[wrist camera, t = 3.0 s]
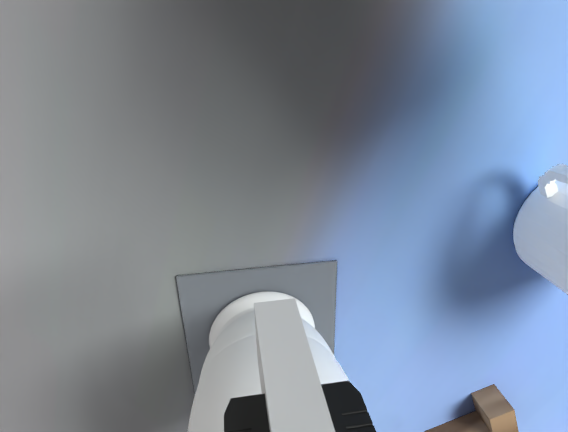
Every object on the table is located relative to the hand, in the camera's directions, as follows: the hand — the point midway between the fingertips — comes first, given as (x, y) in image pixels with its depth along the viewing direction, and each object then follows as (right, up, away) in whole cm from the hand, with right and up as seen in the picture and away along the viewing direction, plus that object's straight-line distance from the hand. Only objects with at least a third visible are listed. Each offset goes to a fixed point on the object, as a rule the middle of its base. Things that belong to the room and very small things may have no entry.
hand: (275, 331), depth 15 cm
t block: (+19, -17, +26) cm, 36 cm away
